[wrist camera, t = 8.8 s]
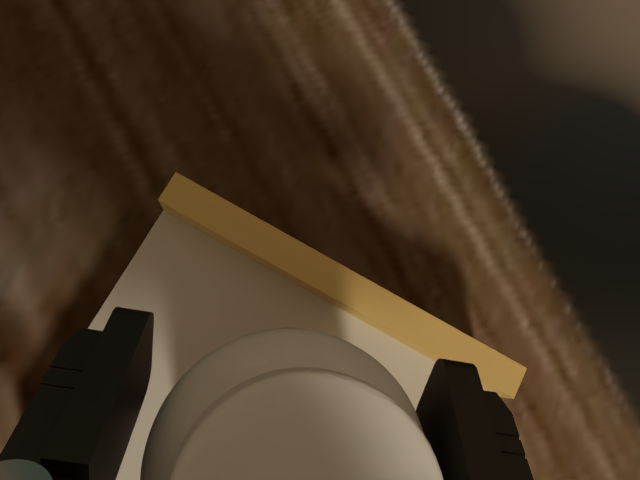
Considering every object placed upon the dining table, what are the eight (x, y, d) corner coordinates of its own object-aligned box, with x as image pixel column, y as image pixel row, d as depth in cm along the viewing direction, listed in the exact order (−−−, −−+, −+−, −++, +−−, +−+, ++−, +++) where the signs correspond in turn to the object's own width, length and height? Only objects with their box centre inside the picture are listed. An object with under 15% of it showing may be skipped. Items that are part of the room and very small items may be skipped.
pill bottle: (354, 529, 17) (498, 748, 8) (168, 523, 17) (69, 756, 7) (363, 342, 18) (498, 331, 9) (188, 330, 18) (127, 305, 8)
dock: (23, 465, 19) (-30, 490, 15) (188, 204, 21) (175, 172, 17) (351, 647, 19) (375, 715, 15) (479, 366, 21) (527, 368, 18)
